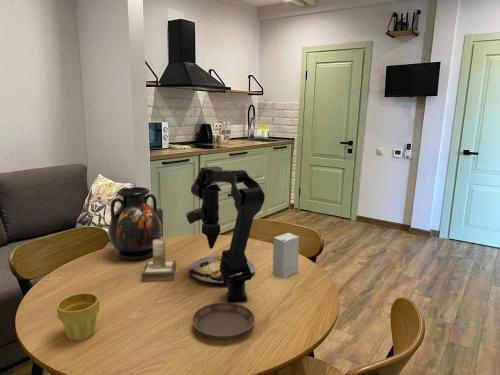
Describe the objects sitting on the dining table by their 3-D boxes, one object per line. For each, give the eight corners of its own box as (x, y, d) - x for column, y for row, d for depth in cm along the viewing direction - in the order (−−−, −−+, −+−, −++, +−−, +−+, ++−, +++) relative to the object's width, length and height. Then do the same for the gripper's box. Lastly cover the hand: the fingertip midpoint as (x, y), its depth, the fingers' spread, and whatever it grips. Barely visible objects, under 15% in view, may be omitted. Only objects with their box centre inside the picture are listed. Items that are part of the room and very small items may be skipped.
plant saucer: (222, 304, 119) (222, 295, 118) (266, 325, 108) (267, 315, 107) (179, 328, 105) (179, 319, 105) (224, 355, 94) (224, 344, 94)
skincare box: (287, 267, 146) (288, 231, 143) (298, 273, 142) (300, 236, 139) (271, 273, 141) (272, 236, 138) (282, 279, 136) (284, 240, 133)
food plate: (222, 293, 125) (222, 284, 124) (175, 275, 139) (175, 266, 138) (265, 271, 144) (265, 262, 144) (220, 257, 158) (220, 249, 158)
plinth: (173, 280, 134) (173, 272, 133) (142, 281, 133) (141, 273, 132) (176, 267, 145) (175, 260, 144) (147, 269, 143) (146, 261, 143)
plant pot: (55, 348, 95) (52, 313, 93) (64, 326, 105) (61, 294, 103) (99, 342, 98) (96, 308, 96) (103, 321, 108) (101, 290, 106)
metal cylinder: (160, 269, 135) (159, 243, 133) (150, 267, 137) (150, 241, 135) (168, 265, 139) (167, 240, 137) (158, 262, 141) (158, 237, 139)
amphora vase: (119, 269, 143) (114, 198, 137) (103, 252, 160) (98, 188, 154) (171, 256, 156) (169, 191, 150) (151, 242, 172) (148, 182, 167)
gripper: (188, 196, 139) (189, 235, 143) (186, 209, 121) (187, 254, 124) (218, 195, 141) (218, 235, 144) (220, 208, 123) (220, 253, 126)
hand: (210, 243), depth 134 cm, fingers open, 9 cm apart
